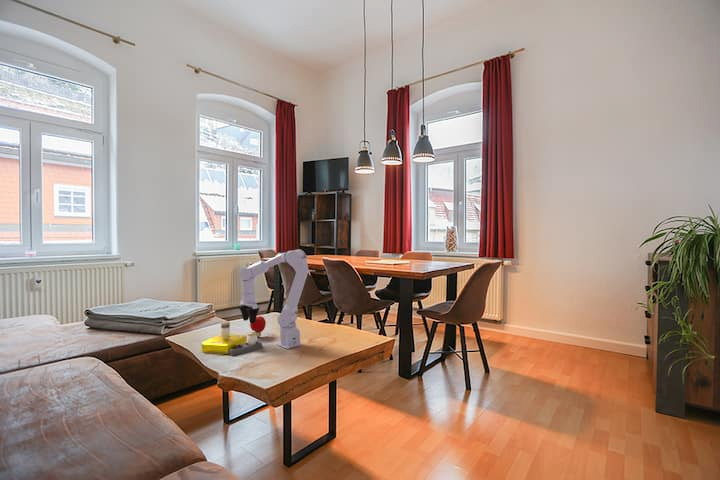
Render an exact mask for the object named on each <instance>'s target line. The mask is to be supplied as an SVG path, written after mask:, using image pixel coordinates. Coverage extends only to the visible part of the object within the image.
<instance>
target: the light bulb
mask: <svg viewBox="0 0 720 480" xmlns="http://www.w3.org/2000/svg"><path fill="white" fill-rule="evenodd" d="M266 325H267V322H266V318H265V317H264V316H262V315H261V316H260V315H258V316H256V321H255V323H252V324H249V326H250V330H252V332H256V338H260V337H261V336H262V332H263V331H264V330H265V328H266Z"/></svg>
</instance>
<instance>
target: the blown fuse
mask: <svg viewBox="0 0 720 480" xmlns="http://www.w3.org/2000/svg"><path fill="white" fill-rule="evenodd" d="M220 325H221V326H220V331H221V332H220V334H221V338H222V339H226V338H229V336H230V334H231V333H230V328H231V327H230V325H231V322H230V321H221V322H220Z"/></svg>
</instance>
